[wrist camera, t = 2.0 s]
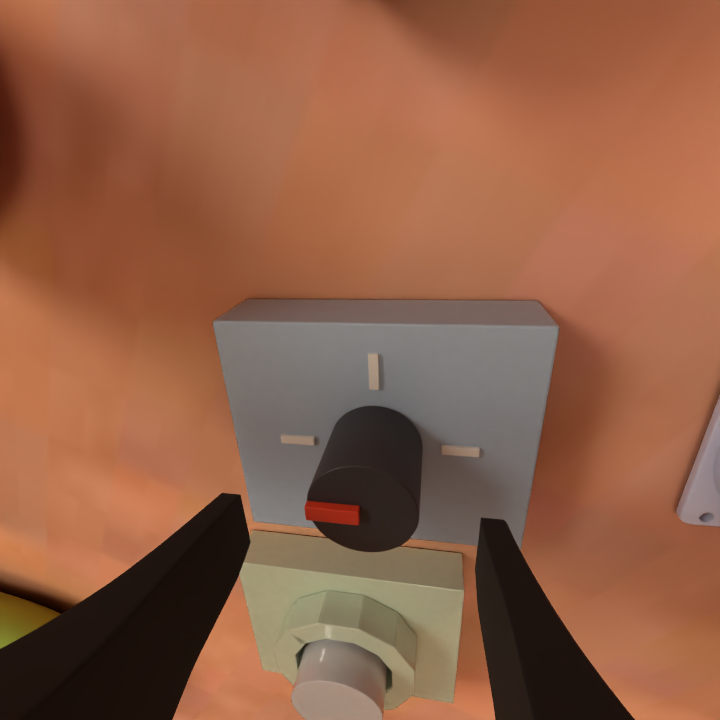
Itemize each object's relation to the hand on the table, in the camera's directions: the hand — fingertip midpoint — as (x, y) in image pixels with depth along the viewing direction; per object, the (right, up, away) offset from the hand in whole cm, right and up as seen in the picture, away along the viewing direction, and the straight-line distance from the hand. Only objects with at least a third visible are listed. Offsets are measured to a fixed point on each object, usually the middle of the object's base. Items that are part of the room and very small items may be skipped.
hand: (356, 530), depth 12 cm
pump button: (-1, -11, +9) cm, 15 cm away
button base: (0, -10, +13) cm, 16 cm away
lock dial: (+1, +2, +4) cm, 4 cm away
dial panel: (+1, +3, +6) cm, 7 cm away
